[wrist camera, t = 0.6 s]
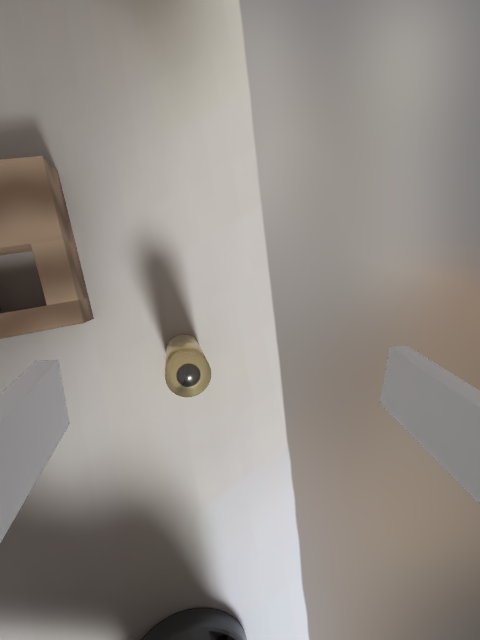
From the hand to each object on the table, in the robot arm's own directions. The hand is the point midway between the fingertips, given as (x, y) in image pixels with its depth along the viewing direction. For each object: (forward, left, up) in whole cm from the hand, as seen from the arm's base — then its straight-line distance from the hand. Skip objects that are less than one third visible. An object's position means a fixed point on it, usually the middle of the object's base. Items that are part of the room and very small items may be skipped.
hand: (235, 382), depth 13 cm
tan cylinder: (-3, +2, -24) cm, 24 cm away
